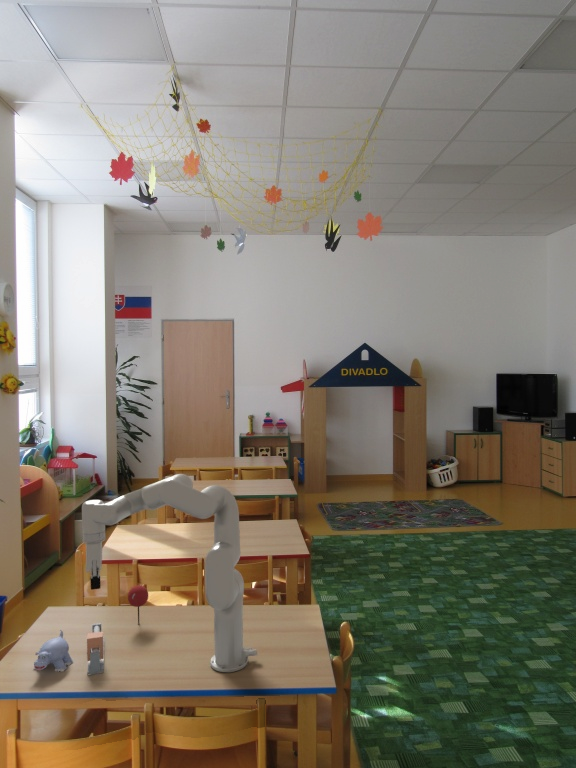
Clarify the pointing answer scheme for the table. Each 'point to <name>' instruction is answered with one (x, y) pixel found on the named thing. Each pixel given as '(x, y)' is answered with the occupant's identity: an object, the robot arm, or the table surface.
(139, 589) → the lollipop
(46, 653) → the hippopotamus toy
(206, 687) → the table surface
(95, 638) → the collar
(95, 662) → the rail
